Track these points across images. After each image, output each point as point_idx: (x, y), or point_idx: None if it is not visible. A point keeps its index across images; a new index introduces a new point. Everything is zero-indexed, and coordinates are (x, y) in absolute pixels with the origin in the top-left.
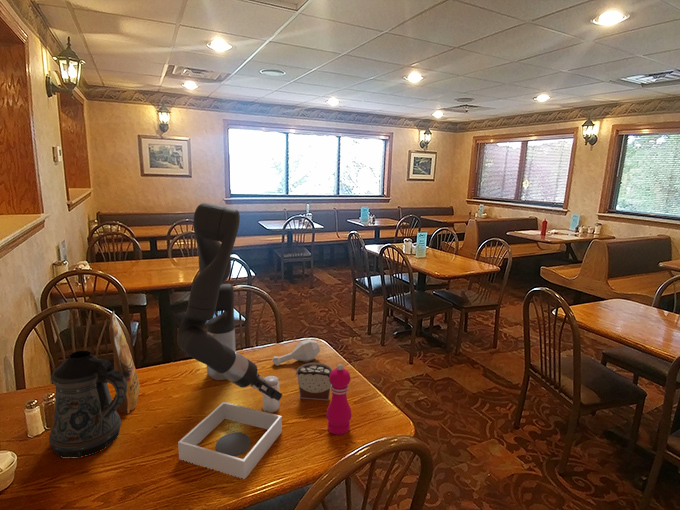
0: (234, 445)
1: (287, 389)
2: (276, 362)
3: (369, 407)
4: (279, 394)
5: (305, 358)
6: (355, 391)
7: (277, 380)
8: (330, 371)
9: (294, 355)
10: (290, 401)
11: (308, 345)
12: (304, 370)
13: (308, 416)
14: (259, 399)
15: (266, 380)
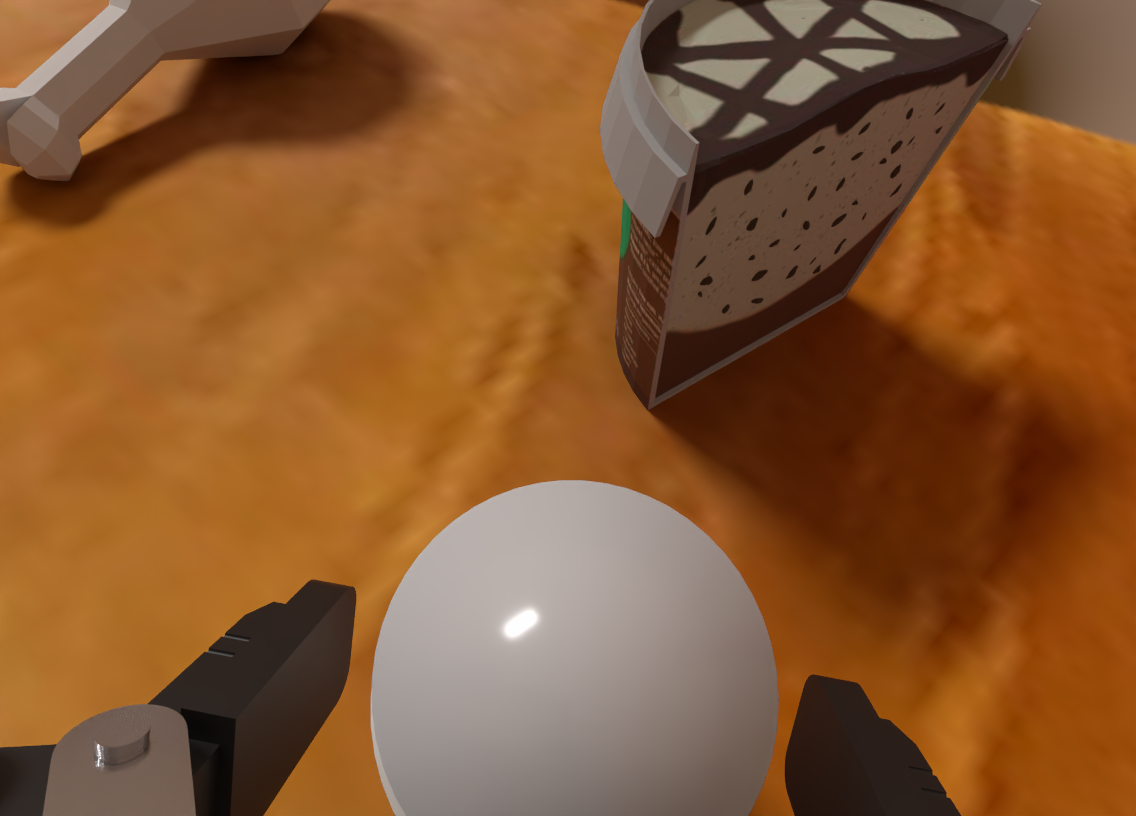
0: None
1: (432, 379)
2: (36, 151)
3: (1091, 211)
4: (939, 787)
5: (282, 18)
6: None
7: (730, 573)
8: (943, 10)
9: (167, 19)
10: None
11: None
12: (716, 112)
13: (968, 574)
14: None
15: (523, 777)
